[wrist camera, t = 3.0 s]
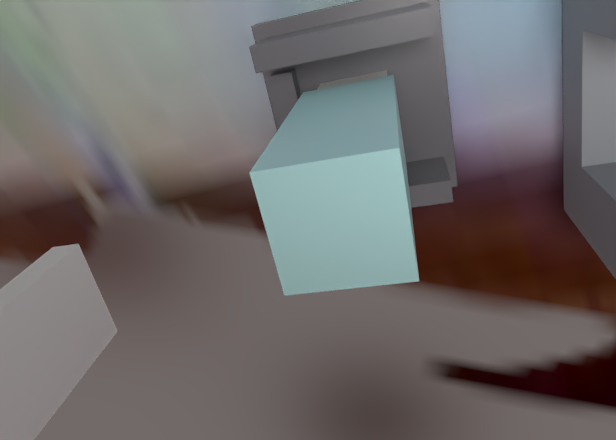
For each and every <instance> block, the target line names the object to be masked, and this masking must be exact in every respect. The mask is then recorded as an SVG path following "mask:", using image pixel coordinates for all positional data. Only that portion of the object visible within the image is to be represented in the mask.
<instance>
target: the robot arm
mask: <svg viewBox="0 0 616 440" xmlns="http://www.w3.org/2000/svg"><path fill="white" fill-rule="evenodd" d="M116 333H117V329H116V326H115V324H114V322H113V320H112V317H111V315H110V313H109V311H108V308H107V306H106V304H105V302H104V299H103V298H102V295H101V293H100V291H99V288H98V286H97V284H96V282H95V280H94V277H93V275H92V273H91V271H90V268H89V266H88V264H87V262H86V259H85V257H84V255H83V253H82V251H81V248H80V246H79V244H73V245H65V246H58V247H52V248H51V249H50V250H49V251H47V252H46V253H45V254H44V255H42V256H41V257H40V258H39V259H37V260H36V261H35V262H34V263H32V264H31V265H30V266H29V267H27V268H26V269H25V270H24V271H23V272H21V273H20V274H19V275H17V276H16V277H15V278H14V279H12V280H11V281H10V282H9V283H7V284H6V285H5V286H4V287H3V288H1V289H0V440H34V439H35V438H36V437H37V435H38V434H39V433H40V431H41V430H42V429H43V428H44V426H45V425H46V424H47V422H48V421H49V420H50V418H51V417H52V416H53V415H54V413H55V412H56V411H57V409H58V408H59V407H60V405H61V404H62V403H63V401H64V400H65V399H66V398H67V396H68V395H69V394H70V393H71V391H72V390H73V388H74V387H75V386H76V385H77V383H78V382H79V381H80V379H81V378H82V377H83V376H84V374H85V373H86V372H87V370H88V369H89V368H90V367H91V365H92V364H93V363H94V361H95V360H96V359H97V357H98V356H99V355H100V353H101V352H102V351H103V349H104V348H105V347H106V346H107V344H108V343H109V342H110V341H111V339H112V338H113V337H114V335H115V334H116Z"/></svg>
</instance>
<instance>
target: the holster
mask: <svg viewBox="0 0 616 440" xmlns="http://www.w3.org/2000/svg"><path fill="white" fill-rule="evenodd" d="M251 27H252V31H253V35H254V39H255V43H256V44H254V45H253V46H251V47H249V48H250V52H251V56H252V60H253V63H254V67H255V71H256V73H259V72H263V75H264V79H265V83H266V87H267V91H268V95H269V99H270V103H271V107H272V111H273V115H274V119H275V123H276V127H277V131H278V129H279V128H280V126H281V125H282V123H283V122H284V120H285V119H286V117H287V116H288V114H289V113H290V111H291V110H292V108H293V107H294V105H295V104H296V102H297V101H298V99H299V98H300V96H301V95H302V93H303V92H307V91H313V90H317V89H318V87H319V85H320V83H325V82H330V81H335V80H340V79H345V78H350V77H355V76H360V75H365V74H371V73H376V72H381V71H386V70H387V76H389V75H394V82H395V89H396V96H397V103H398V110H399V117H400V124H401V130H402V137H403V144H404V151H405V158H406V166H407V175H408V184H409V193H410V202H411V208H413V207H420V206H428V205H435V204H442V203H449V202H453V195H452V187H456V186H458V185H457V175H456V165H455V156H454V146H453V136H452V126H451V116H450V106H449V97H448V87H447V77H446V67H445V57H444V48H443V38H442V28H441V18H440V8H439V0H359V1H355V2H351V3H346V4H342V5H338V6H334V7H329V8H325V9H321V10H316V11H312V12H308V13H303V14H299V15H295V16H290V17H286V18H282V19H277V20H273V21H269V22H264V23H260V24H256V25H254V26H251Z"/></svg>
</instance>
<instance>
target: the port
mask: <svg viewBox="0 0 616 440" xmlns="http://www.w3.org/2000/svg"><path fill="white" fill-rule="evenodd" d="M562 64H563V187H564V211H565V212H566V213H567V215H568V216H569V217H570V219H571V220H572V221H573V223H574V224H575V225H576V227H577V228H578V229H579V231H580V232H581V233H582V235H583V236H584V237H585V239H586V240H587V241H588V243H589V244H590V245H591V247H592V248H593V249H594V251H595V252H596V253H597V255H598V256H599V257H600V259H601V260H602V261H603V263H604V264H605V265H606V267H607V268H608V269H609V271H610V272H611V273H612V275H613V276H614V277H615V279H616V0H562Z"/></svg>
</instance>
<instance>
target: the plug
mask: <svg viewBox="0 0 616 440" xmlns="http://www.w3.org/2000/svg"><path fill="white" fill-rule="evenodd" d="M249 173H250V176H251V180H252V183H253V187H254V190H255V194H256V198H257V201H258V205H259V208H260V212H261V215H262V219H263V222H264V226H265V229H266V233H267V236H268V240H269V243H270V247H271V251H272V254H273V258H274V261H275V265H276V268H277V272H278V275H279V279H280V282H281V286H282V289H283V293H284V295H285V296H286V295H295V294H305V293H314V292H322V291H332V290H341V289H351V288H361V287H370V286H379V285H389V284H398V283H407V282H417V281H419V274H418V265H417V256H416V247H415V238H414V229H413V220H412V211H411V202H410V193H409V184H408V175H407V166H406V158H405V151H404V144H403V137H402V130H401V124H400V117H399V110H398V103H397V96H396V89H395V82H394V75H389V76H387V70H386V71H381V72H376V73H371V74H365V75H360V76H355V77H350V78H345V79H340V80H335V81H330V82H325V83H320V85H319V87H318V89H317V90H313V91H307V92H303V93H302V95H301V96H300V98H299V99H298V101H297V102H296V104H295V105H294V107H293V108H292V110H291V111H290V113H289V114H288V116H287V117H286V119H285V120H284V122H283V123H282V125H281V126H280V128H279V129H278V131H277V132H276V134H275V135H274V137H273V138H272V140H271V141H270V143H269V144H268V146H267V147H266V149H265V150H264V151H263V153H262V154H261V156H260V157H259V159H258V160H257V162H256V163H255V165H254V166H253V168H252V169H251V171H250V172H249Z"/></svg>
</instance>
